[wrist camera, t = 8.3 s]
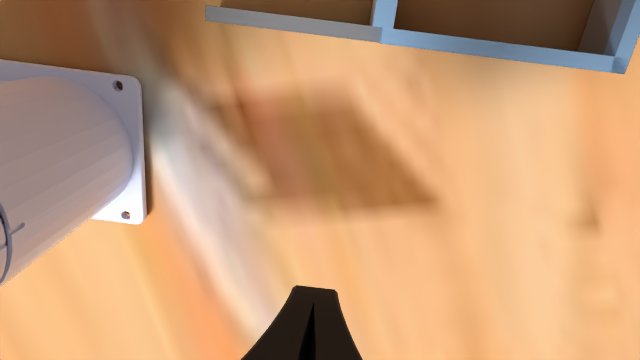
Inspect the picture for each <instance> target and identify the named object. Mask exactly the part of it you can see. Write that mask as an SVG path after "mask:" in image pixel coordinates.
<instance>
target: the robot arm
mask: <svg viewBox="0 0 640 360" xmlns="http://www.w3.org/2000/svg"><path fill="white" fill-rule="evenodd" d="M117 81H120V82H121V83H122V85H123V89H122V90H120V89H119V88H118V87H117ZM125 211H127V212H129V213H130V216H131V217H129V216H127V215H126V214H125ZM146 216H147V209H146V185H145V162H144V138H143V115H142V91H141V84H140V82H139V81H138V79H136V78H135V77H133V76H128V75H120V74H112V73H104V72H97V71H89V70H81V69H73V68H65V67H58V66H50V65H42V64H34V63H26V62H19V61H11V60H3V59H0V287H1V286H2V285H4V284H5V283H6V282H8V281H9V280H10V279H11V278H13V277H14V276H15V275H17V274H18V273H19V272H21V271H22V270H23V269H25V268H26V267H27V266H29V265H30V264H31V263H32V262H34V261H35V260H36V259H38V258H39V257H40V256H42V255H43V254H44V253H46V252H47V251H48V250H49V249H51V248H52V247H53V246H55V245H56V244H57V243H59V242H60V241H61V240H63V239H64V238H65V237H67V236H68V235H69V234H70V233H72V232H73V231H74V230H76V229H77V228H78V227H80V226H81V225H82V224H84V223H85V222H86V221H87V220H89V219H90V218H92V219H99V220H107V221H114V222H122V223H129V224H141V223H142V222H143V221H144V220H145V219H146ZM241 360H362V358H361V356H360V354H359V352H358V350H357V348H356V346H355V343H354V341H353V339H352V337H351V334H350V332H349V330H348V327H347V325H346V322H345V319H344V317H343V314H342V311H341V307H340V304H339V299H338V293H337V292H336V291H335V290H332V289H324V288H315V287H306V286H298V285H296V286H295V287H293V289H292V291H291V293H290V295H289V297H288V299H287V301H286V303H285V304H284V306H283V307H282V309H281V311H280V312H279V314H278V315H277V316H276V318H275V319H274V321H273V322H272V324H271V325H270V326H269V328H268V329H267V330H266V331H265V333H264V334H263V335H262V336H261V338H260V339H259V340H258V341H257V342H256V344H255V345H254V346H253V347H252V348H251V349H250V350H249V351H248V353H247V354H246V355H245V356H244V357H243V358H242V359H241Z"/></svg>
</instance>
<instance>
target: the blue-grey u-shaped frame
mask: <svg viewBox="0 0 640 360" xmlns="http://www.w3.org/2000/svg"><path fill="white" fill-rule="evenodd" d="M397 3H398V0H373V3H372V9H371V16H370V23H369V26H367V25H359V24H352V23H344V22H336V21H328V20H320V19H312V18H304V17H296V16H288V15H280V14H272V13H264V12H256V11H248V10H240V9H232V8H224V7H217V6H209V5H206V19H205V21H212V22H220V23H228V24H236V25H244V26H252V27H260V28H268V29H276V30H284V31H291V32H299V33H307V34H315V35H323V36H331V37H339V38H347V39H355V40H363V41H371V42H378V43H381V44H389V45H397V46H405V47H413V48H421V49H428V50H436V51H444V52H452V53H460V54H468V55H476V56H484V57H492V58H500V59H508V60H515V61H523V62H531V63H539V64H547V65H555V66H563V67H571V68H579V69H587V70H595V71H603V72H610V73H618V74H625V72H626V69H627V66H628V64H629V61H630V58H631V56H632V53H633V51H634V48H635V45H636V43H637V40H638V37H639V35H640V0H594V2H593V5H592V8H591V11H590V14H589V17H588V20H587V23H586V26H585V29H584V32H583V35H582V38H581V41H580V44H579V47H578V50H577V52H574V51H566V50H558V49H550V48H542V47H535V46H527V45H519V44H511V43H503V42H495V41H487V40H479V39H471V38H463V37H455V36H447V35H439V34H431V33H423V32H415V31H407V30H399V29H393V26H394V21H395V15H396V9H397Z"/></svg>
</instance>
